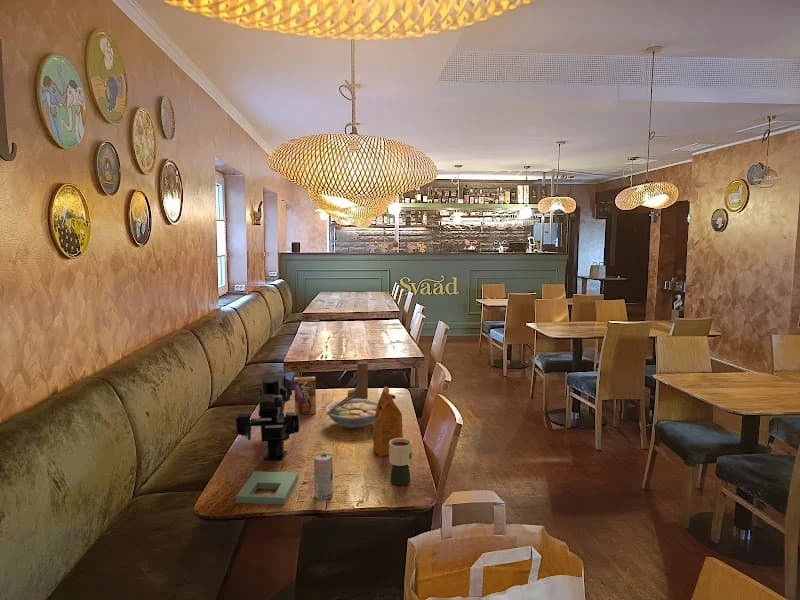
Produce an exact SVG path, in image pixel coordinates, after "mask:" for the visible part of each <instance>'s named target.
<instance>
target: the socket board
mask: <svg viewBox="0 0 800 600" xmlns="http://www.w3.org/2000/svg"><path fill="white" fill-rule="evenodd" d="M298 480H299V472H292V471H289V472H288V471H265V470H264V471H258V470H254V471H253V473H252V474H251V475H250V477H248V479H247V481H246V482H245V484H244V485H243V486H242V487H241V489H240V490H239V491H238V492H237V494H236V496H235V502H236V504H254V505H256V504H258V505H259V504H260V505H284V504H285V505H286V504H287V502H288V499H289V497H290V496H289V495H291V494H292V491H293V490H294V488H295V486H296V484H297V482H298ZM258 489H259V490H276V492H274V494H272V495H271V494H255V493H256V491H257V490H258Z"/></svg>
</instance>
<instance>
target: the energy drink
mask: <svg viewBox="0 0 800 600" xmlns="http://www.w3.org/2000/svg"><path fill="white" fill-rule="evenodd" d="M333 475H334V474H333V457H332V455H331V454H330V453H325V452H324V453H317V454H316V455H314V459H313V477H314V478H313V480H314V484H313V485H314V486H313V487H314V488H313V489H314V493H313V494H314V495H313V496H314V497H315V498H316V499H318V500H322V501H324V500H328V499H330V498H332V496H333V494H334V489H333V488H334V485H333V478H334V477H333Z"/></svg>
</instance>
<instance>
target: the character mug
mask: <svg viewBox="0 0 800 600" xmlns="http://www.w3.org/2000/svg"><path fill="white" fill-rule="evenodd" d="M388 461H389V463H390V465H391V470H390V477H389V478H390V483H392V484H394V485H408V484H410V482H412V481H411V472H410V466H409V464H411V463H412V461H413V441H412V440H411V439H408V438H405V437H403V438H395V439H392V440H390V441H389V455H388Z"/></svg>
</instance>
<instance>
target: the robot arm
mask: <svg viewBox="0 0 800 600" xmlns="http://www.w3.org/2000/svg"><path fill="white" fill-rule="evenodd" d="M260 383H261V386H260V387H261V388H260V390H259V391H260V393H259V395H260V396H259V403H258V404H259V407H258V408H259V409H258V417H254V418H253V417H251V413H238V414H237V415H236V417H235V423H236V434H237V435H238V436H242V437H245V438H246V440H247V441H249V442H250V441H251V440H252V439H251V438H252V427H260V434H261V435H260V436H261V442H262V443H263V442H266V454H265V455H264V457H263V460H272V461H273V460H275V461H278V460H279V461H282V460H283V459H284V458H285V456H286V455H287V454H288V450H285V443H284V441H287V440H289V439H290V436H291V435H292V434H296V433H297V434H298V432H300V415H299V414H298V413H297V412H295V411H290V412H289V411H288V412H285V413H284V411H285V405H286V403H287V402H288V401H290V400H291V396H293V384H292V381H291V380H289V379H288V378H287V375H284V374H275V373H268V375H265V376H263V377H261V378H260Z"/></svg>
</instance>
